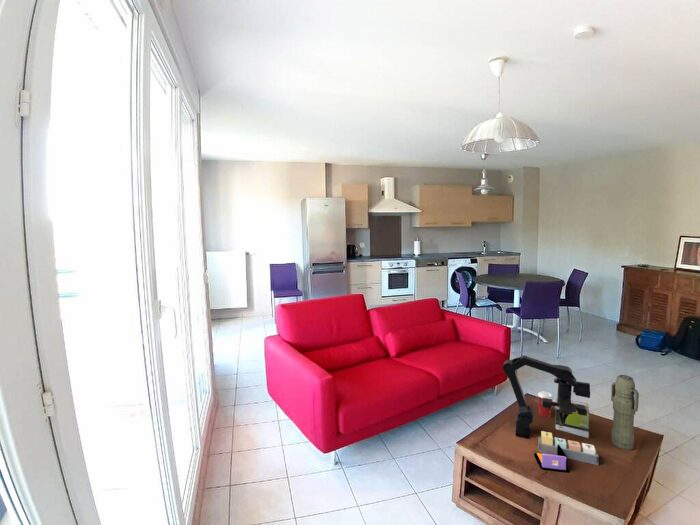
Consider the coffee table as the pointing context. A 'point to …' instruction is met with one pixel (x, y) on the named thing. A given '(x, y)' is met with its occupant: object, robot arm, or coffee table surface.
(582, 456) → the keypad
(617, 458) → the coffee table surface
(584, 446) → the key
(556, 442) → the key with caret symbol
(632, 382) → the green thermos flask
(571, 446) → the key with dash symbol
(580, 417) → the tea box
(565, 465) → the business card holder
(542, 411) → the paper cup
